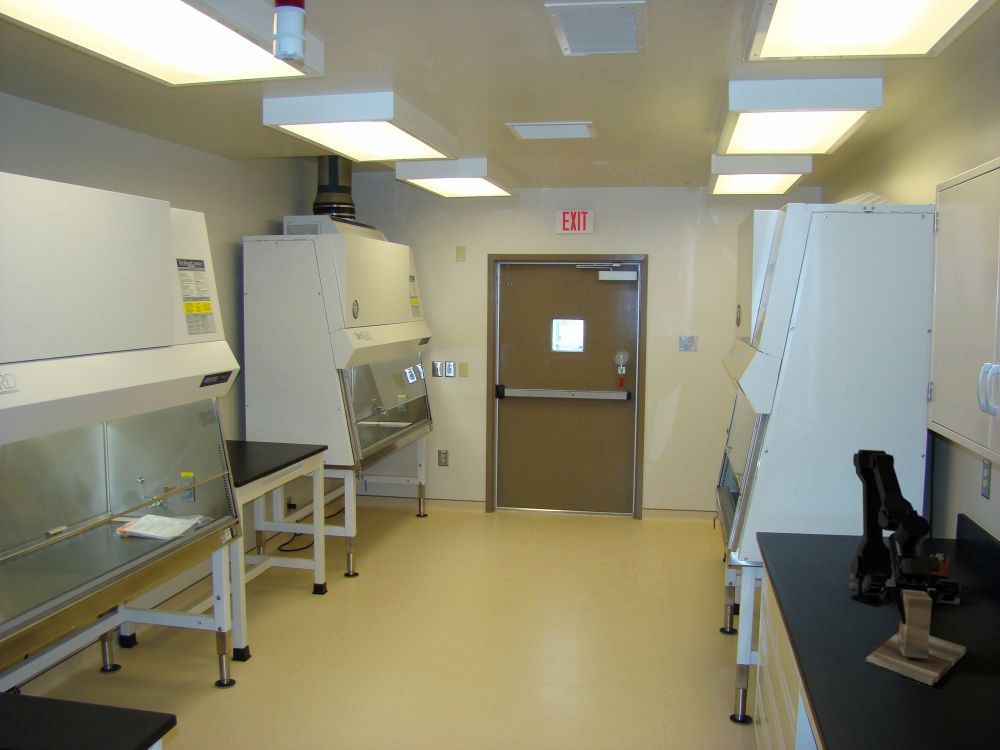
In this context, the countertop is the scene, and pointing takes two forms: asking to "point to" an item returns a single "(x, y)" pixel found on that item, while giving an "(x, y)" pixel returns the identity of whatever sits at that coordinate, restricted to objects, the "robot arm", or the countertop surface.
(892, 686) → the countertop surface
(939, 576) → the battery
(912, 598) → the tall wooden post
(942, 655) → the subfloor panel
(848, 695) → the countertop surface
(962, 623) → the countertop surface
